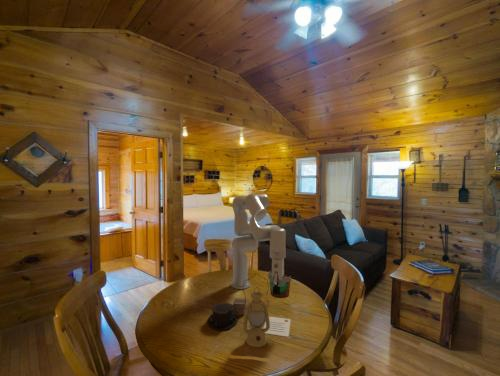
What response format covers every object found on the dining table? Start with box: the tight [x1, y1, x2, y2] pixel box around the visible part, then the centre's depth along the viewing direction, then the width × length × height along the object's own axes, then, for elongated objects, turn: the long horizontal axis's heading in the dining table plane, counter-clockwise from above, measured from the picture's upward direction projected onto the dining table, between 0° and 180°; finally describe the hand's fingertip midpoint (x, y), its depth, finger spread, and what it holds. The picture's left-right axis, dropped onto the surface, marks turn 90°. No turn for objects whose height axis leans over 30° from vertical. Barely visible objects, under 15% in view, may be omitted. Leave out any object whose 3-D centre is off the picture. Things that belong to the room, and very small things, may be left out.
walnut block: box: [232, 297, 247, 316], centre depth 131 cm, size 6×6×6 cm
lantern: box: [242, 272, 270, 348], centre depth 107 cm, size 12×10×30 cm
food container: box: [267, 270, 293, 299], centre depth 118 cm, size 12×6×10 cm, turn 51°
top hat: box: [207, 302, 239, 332], centre depth 123 cm, size 15×15×10 cm
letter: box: [262, 316, 292, 338], centre depth 119 cm, size 14×12×1 cm
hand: (277, 290), depth 119 cm, fingers closed on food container, 6 cm apart
